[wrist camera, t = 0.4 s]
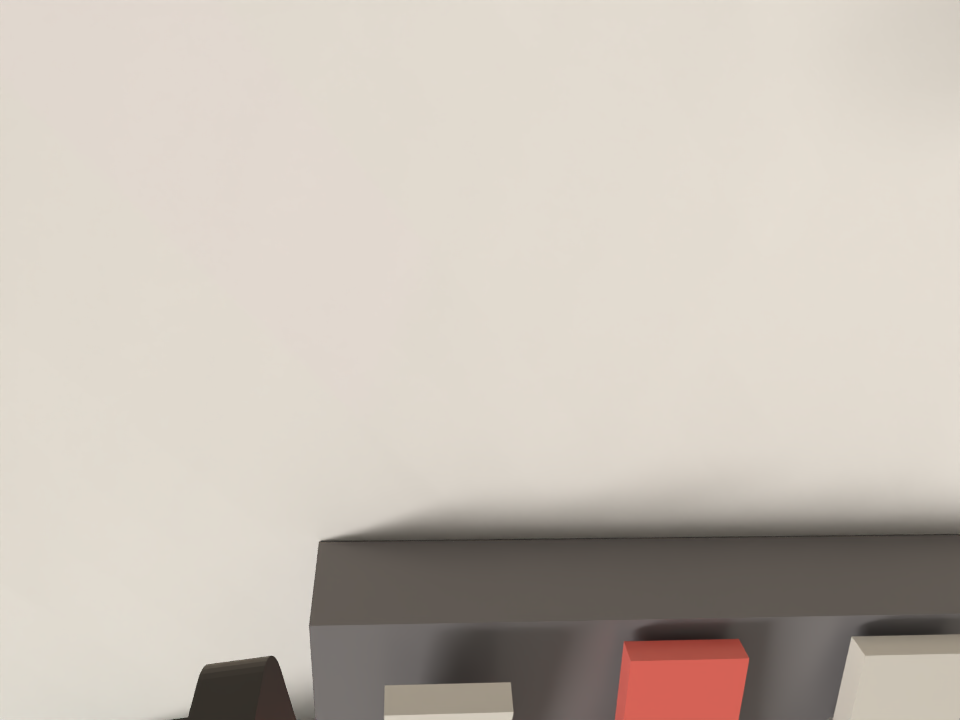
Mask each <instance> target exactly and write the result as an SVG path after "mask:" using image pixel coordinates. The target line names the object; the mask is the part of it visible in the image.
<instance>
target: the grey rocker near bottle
mask: <svg viewBox="0 0 960 720" xmlns="http://www.w3.org/2000/svg"><path fill="white" fill-rule="evenodd" d="M512 718H513V701H512V690H511V682H502V683H461V684H421V685H385V694H384V720H512Z"/></svg>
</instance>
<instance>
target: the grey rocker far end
mask: <svg viewBox="0 0 960 720" xmlns="http://www.w3.org/2000/svg"><path fill="white" fill-rule="evenodd" d="M828 720H960V634H947V635H900V636H852V637H851V641H850V646H849V650H848V655H847V659H846V664H845V668H844V672H843V677H842V681H841V686H840V690H839V695H838V699H837V704H836V708H835V713H834V717H833V718H828Z"/></svg>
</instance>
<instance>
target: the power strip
mask: <svg viewBox="0 0 960 720" xmlns="http://www.w3.org/2000/svg"><path fill="white" fill-rule="evenodd" d="M309 631H310V646H311V661H312V676H313V690H314V705H315V720H384V694H385V685H421V684H461V683H502V682H511V690H512V701H513V718H512V720H615V714H616V705H617V697H618V688H619V679H620V670H621V662H622V653H623V644H624V641H662V640H710V639H739V640H740V642H741V644H742V646H743V647H744V649H745V651H746V653H747V655H748V657H749V663H748V669H747V675H746V680H745V686H744V692H743V697H742V703H741V709H740V714H739V720H828V718H833V717H834V713H835V708H836V704H837V699H838V695H839V690H840V686H841V681H842V677H843V672H844V668H845V664H846V659H847V655H848V650H849V646H850V641H851V637H852V636H900V635H947V634H960V535H896V536H805V537H715V538H625V539H535V540H445V541H355V542H319V546H318V555H317V563H316V572H315V580H314V589H313V597H312V606H311V615H310V623H309Z"/></svg>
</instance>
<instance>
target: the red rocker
mask: <svg viewBox="0 0 960 720" xmlns="http://www.w3.org/2000/svg"><path fill="white" fill-rule="evenodd" d="M748 663H749V657H748V655H747V653H746V651H745V649H744V647H743V646H742V644H741V642H740V640H739V639H710V640H662V641H624V644H623V653H622V662H621V670H620V679H619V688H618V697H617V705H616V714H615V720H739V714H740V709H741V703H742V697H743V692H744V686H745V680H746V675H747V669H748Z"/></svg>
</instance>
